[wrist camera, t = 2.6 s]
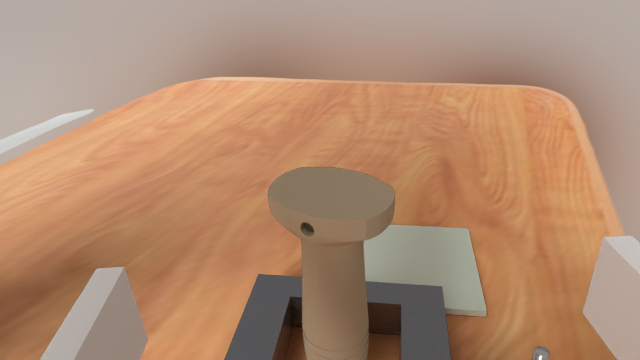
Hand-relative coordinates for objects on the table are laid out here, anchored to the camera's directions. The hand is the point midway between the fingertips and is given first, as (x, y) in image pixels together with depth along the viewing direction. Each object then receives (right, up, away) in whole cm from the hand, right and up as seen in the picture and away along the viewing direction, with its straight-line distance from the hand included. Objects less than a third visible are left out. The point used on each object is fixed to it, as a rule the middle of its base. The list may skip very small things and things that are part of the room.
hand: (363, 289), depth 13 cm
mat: (+7, -5, +28) cm, 29 cm away
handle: (0, -11, +17) cm, 21 cm away
